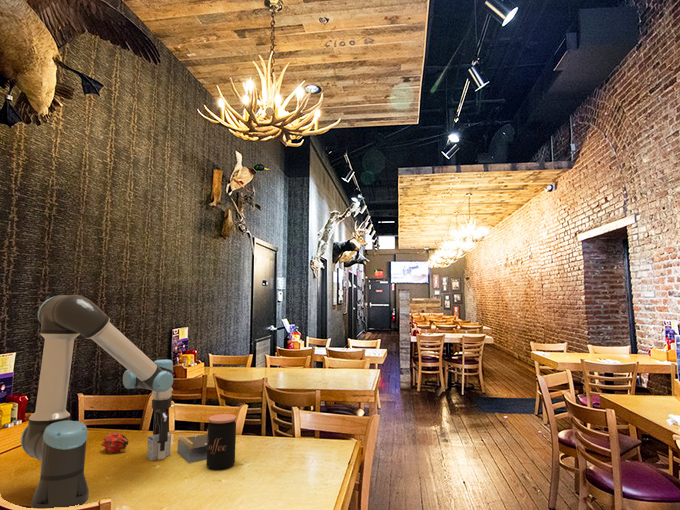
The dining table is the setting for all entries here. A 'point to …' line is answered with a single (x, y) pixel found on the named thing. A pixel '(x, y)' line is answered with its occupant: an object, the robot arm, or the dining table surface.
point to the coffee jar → (221, 441)
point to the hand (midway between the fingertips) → (159, 456)
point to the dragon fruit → (115, 442)
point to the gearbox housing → (193, 447)
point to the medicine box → (156, 447)
